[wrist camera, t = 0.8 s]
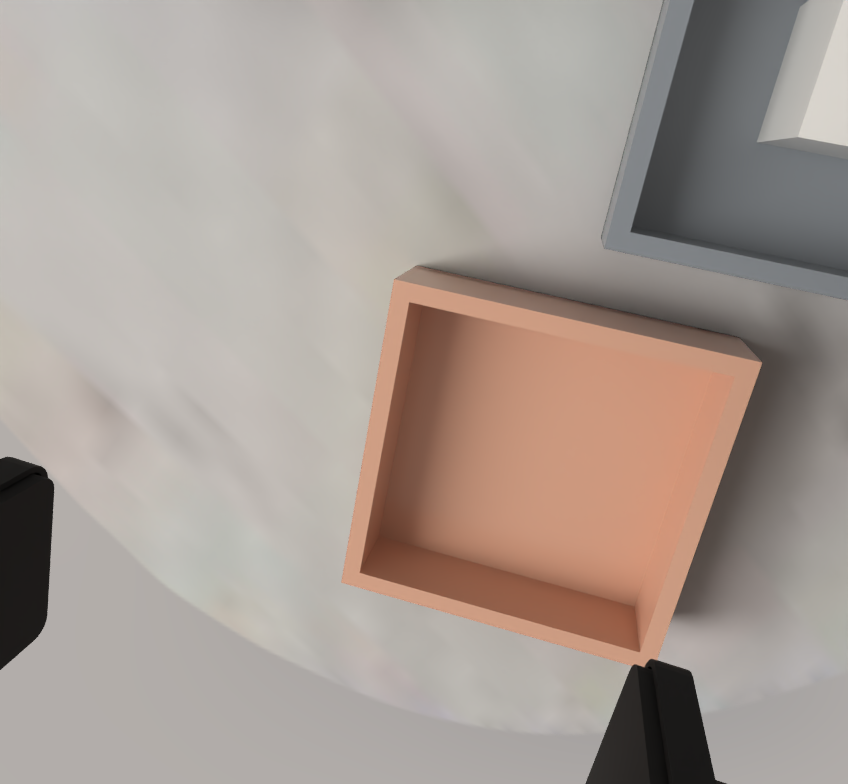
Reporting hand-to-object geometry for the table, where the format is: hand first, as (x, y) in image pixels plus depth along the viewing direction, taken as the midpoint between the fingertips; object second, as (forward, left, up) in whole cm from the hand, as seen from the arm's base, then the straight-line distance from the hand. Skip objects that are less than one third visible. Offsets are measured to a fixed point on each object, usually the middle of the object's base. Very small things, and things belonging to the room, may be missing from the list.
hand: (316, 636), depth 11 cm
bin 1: (+6, +3, -25) cm, 26 cm away
